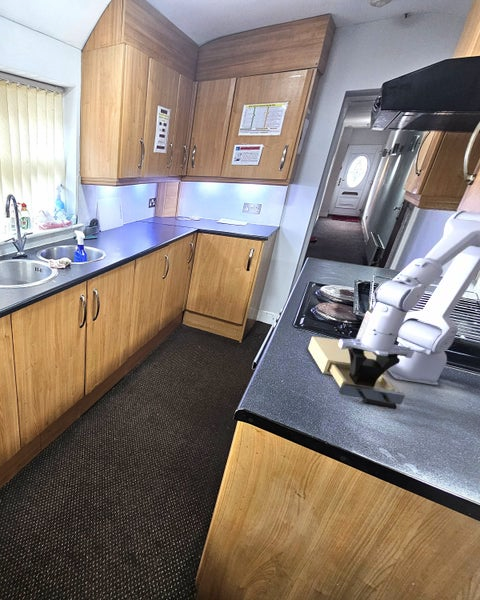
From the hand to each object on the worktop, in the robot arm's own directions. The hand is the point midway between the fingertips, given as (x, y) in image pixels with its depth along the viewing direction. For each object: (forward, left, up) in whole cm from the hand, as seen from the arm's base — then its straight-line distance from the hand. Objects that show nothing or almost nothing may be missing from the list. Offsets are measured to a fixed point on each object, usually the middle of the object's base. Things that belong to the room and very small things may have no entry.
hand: (363, 375), depth 85 cm
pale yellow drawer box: (0, -11, -4) cm, 12 cm away
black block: (0, 0, -2) cm, 2 cm away
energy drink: (-11, -25, -4) cm, 28 cm away
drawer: (0, +2, -3) cm, 4 cm away
